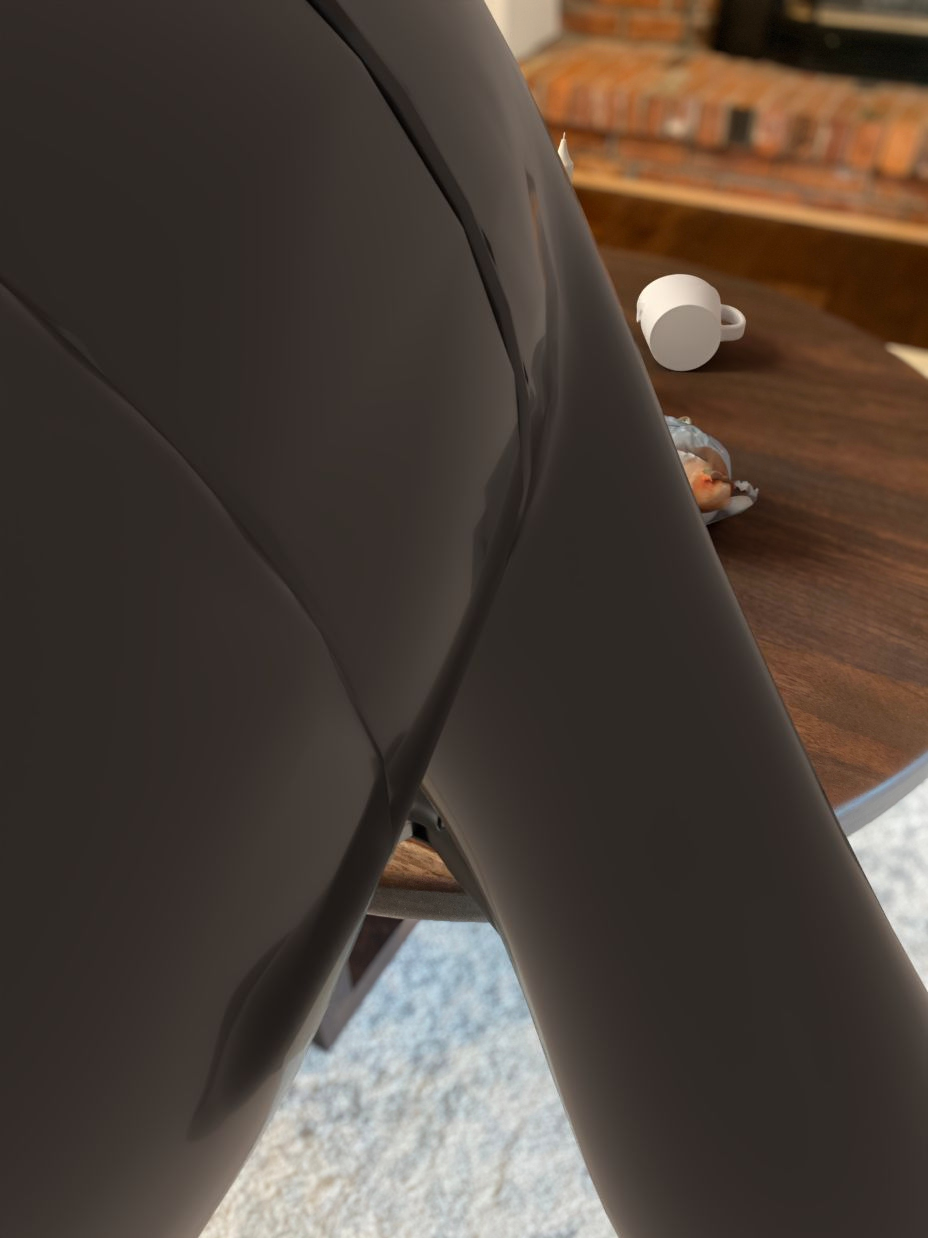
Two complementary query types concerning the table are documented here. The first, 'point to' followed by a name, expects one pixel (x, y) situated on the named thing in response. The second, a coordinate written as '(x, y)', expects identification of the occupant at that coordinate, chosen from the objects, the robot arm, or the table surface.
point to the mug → (685, 321)
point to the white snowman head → (709, 472)
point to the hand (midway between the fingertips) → (372, 640)
